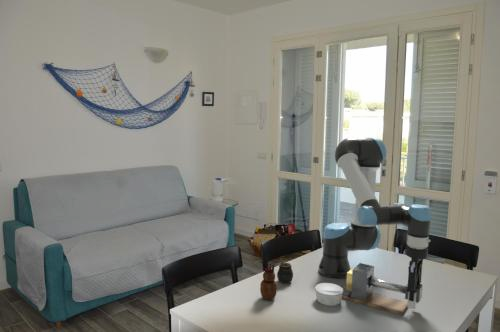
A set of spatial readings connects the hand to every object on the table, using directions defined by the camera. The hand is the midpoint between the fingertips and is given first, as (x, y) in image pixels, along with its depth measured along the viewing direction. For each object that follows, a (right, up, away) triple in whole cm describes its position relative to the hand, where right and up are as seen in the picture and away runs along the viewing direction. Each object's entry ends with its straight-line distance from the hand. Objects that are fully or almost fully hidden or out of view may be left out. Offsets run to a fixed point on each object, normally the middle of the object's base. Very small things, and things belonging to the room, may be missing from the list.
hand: (412, 305), depth 150 cm
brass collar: (-20, +6, +13) cm, 24 cm away
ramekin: (-31, -2, +9) cm, 32 cm away
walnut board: (-13, -2, +9) cm, 16 cm away
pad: (-21, 0, +14) cm, 25 cm away
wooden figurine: (-55, -1, +10) cm, 56 cm away
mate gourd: (-47, +1, +27) cm, 54 cm away
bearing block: (-16, 0, +11) cm, 20 cm away
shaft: (-8, +4, +5) cm, 10 cm away
